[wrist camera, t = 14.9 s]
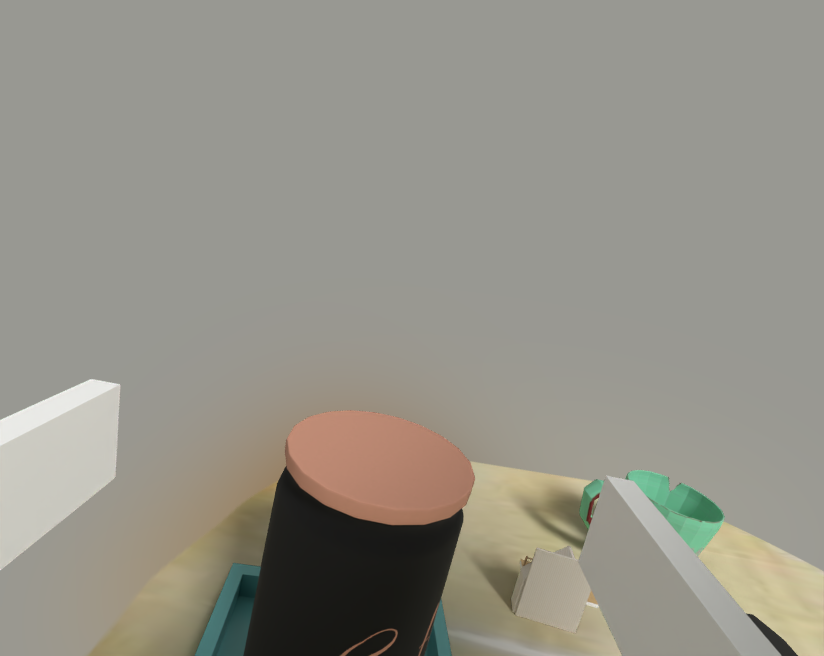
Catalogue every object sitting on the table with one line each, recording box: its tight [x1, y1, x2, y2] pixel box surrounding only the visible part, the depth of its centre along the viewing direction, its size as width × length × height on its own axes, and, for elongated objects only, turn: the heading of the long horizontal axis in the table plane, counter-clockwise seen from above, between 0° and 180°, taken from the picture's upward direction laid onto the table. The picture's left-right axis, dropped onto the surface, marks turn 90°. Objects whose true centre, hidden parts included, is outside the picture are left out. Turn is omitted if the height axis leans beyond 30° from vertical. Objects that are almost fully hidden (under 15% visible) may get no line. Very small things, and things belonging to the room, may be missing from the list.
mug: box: [580, 470, 725, 556], centre depth 50 cm, size 15×10×10 cm
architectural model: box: [511, 546, 599, 633], centre depth 41 cm, size 3×7×7 cm, turn 83°
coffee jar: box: [243, 410, 475, 656], centre depth 27 cm, size 11×11×18 cm
